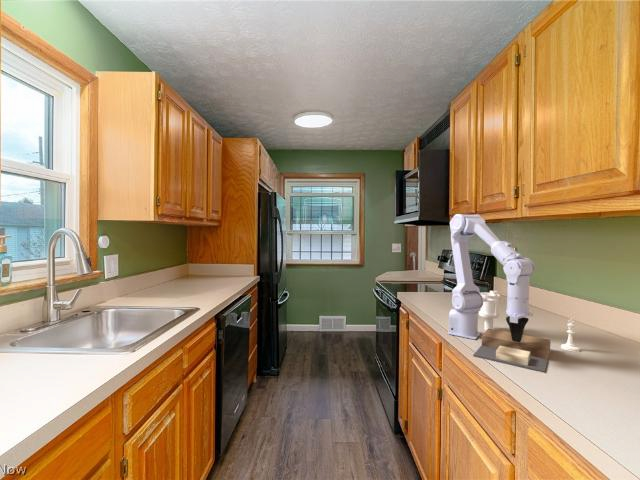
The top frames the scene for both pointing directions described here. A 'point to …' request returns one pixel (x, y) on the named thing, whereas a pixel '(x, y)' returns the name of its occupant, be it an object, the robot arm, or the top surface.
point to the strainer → (489, 308)
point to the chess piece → (570, 339)
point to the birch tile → (513, 355)
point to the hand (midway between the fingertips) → (516, 341)
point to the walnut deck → (517, 343)
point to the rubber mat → (533, 364)
